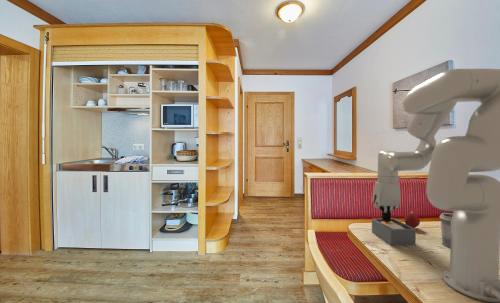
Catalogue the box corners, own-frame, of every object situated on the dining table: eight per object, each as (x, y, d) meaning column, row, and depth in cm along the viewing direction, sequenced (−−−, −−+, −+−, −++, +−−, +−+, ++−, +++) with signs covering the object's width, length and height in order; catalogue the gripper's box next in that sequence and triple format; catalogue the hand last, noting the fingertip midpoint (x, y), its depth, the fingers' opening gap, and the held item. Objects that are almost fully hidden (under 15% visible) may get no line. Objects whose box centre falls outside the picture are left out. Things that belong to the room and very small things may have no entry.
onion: (414, 232, 98) (415, 214, 98) (401, 227, 103) (401, 210, 103) (422, 229, 100) (422, 212, 100) (408, 225, 106) (409, 209, 105)
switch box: (415, 244, 86) (415, 229, 86) (390, 245, 86) (390, 230, 86) (393, 231, 99) (393, 218, 98) (371, 232, 98) (371, 218, 98)
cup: (467, 251, 81) (468, 219, 80) (446, 249, 82) (447, 218, 81) (453, 242, 88) (454, 212, 87) (434, 241, 89) (435, 212, 88)
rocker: (405, 231, 88) (405, 228, 88) (393, 231, 88) (393, 228, 88) (391, 224, 96) (391, 221, 96) (380, 224, 96) (380, 221, 96)
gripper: (398, 177, 99) (396, 217, 100) (365, 178, 98) (364, 217, 100) (410, 180, 91) (409, 223, 92) (375, 181, 91) (374, 224, 92)
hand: (386, 220), depth 96 cm, fingers closed
